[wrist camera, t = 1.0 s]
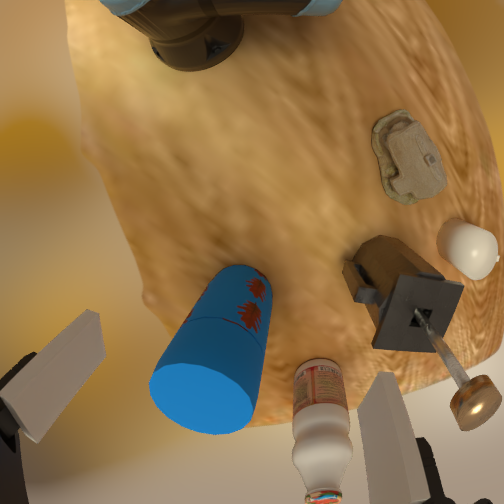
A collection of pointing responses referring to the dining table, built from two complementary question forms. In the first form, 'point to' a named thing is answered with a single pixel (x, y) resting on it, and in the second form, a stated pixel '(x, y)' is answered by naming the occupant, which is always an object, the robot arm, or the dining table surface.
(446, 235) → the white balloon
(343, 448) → the fruit juice
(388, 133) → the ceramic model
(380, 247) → the press body
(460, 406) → the plunger
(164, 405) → the thermos
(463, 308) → the dining table surface
